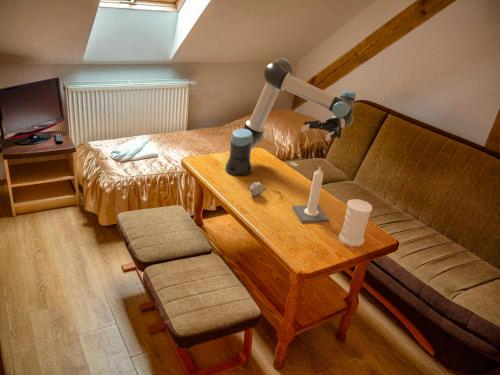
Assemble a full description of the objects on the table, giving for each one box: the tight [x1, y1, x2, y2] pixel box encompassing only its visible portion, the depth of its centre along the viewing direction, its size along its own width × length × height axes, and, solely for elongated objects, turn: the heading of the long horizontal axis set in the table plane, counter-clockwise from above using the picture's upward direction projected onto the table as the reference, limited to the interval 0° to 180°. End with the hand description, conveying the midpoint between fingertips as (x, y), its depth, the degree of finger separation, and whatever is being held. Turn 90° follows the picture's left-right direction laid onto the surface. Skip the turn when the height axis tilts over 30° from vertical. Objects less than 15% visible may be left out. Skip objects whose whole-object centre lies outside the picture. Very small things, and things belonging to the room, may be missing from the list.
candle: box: [304, 166, 324, 216], centre depth 209 cm, size 7×7×25 cm
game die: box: [247, 180, 266, 198], centre depth 225 cm, size 9×8×10 cm
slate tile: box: [292, 204, 330, 224], centre depth 216 cm, size 14×14×1 cm
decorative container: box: [338, 198, 373, 247], centre depth 196 cm, size 12×12×18 cm
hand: (314, 133), depth 208 cm, fingers open, 13 cm apart
